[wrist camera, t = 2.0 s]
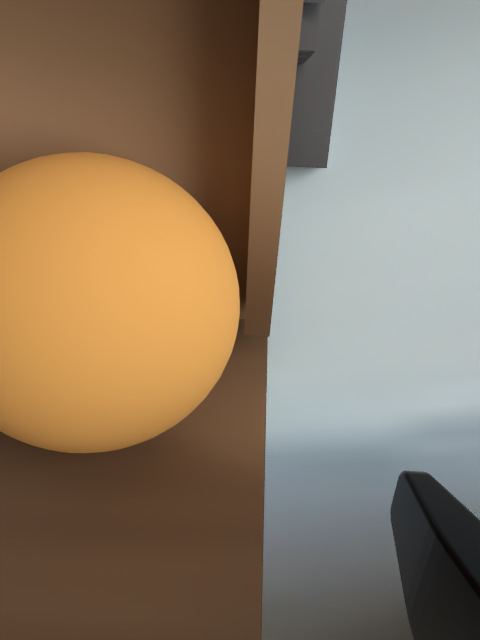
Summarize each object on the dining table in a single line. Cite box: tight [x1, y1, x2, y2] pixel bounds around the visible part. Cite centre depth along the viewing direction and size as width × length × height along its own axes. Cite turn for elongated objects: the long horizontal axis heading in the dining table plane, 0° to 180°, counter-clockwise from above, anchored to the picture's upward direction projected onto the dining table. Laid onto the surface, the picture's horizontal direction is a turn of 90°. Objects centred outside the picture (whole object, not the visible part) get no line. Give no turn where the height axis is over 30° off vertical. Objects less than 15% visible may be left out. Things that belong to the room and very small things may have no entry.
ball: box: [0, 152, 240, 453], centre depth 6 cm, size 4×4×4 cm
